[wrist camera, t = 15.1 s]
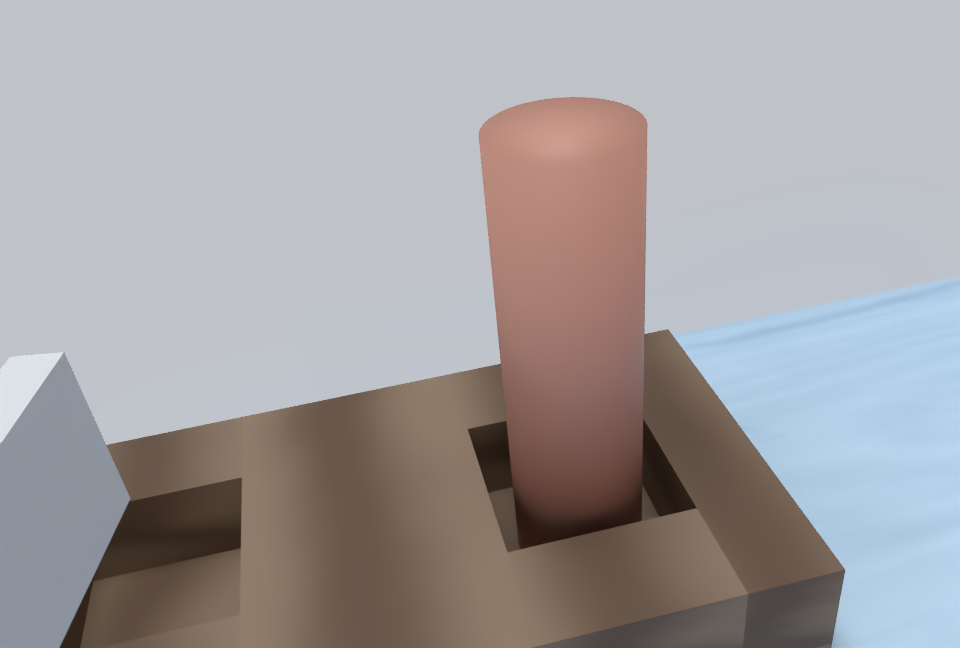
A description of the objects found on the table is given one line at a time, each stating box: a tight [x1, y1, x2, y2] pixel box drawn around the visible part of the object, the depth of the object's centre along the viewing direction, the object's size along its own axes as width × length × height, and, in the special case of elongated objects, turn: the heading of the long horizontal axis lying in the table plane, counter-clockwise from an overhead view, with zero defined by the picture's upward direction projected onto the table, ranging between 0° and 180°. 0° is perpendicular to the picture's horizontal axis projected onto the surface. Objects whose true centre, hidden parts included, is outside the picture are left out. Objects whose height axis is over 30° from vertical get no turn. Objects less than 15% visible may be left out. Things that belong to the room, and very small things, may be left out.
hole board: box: [59, 330, 845, 648], centre depth 28 cm, size 24×12×4 cm, turn 102°
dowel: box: [479, 97, 647, 549], centre depth 25 cm, size 4×4×14 cm
